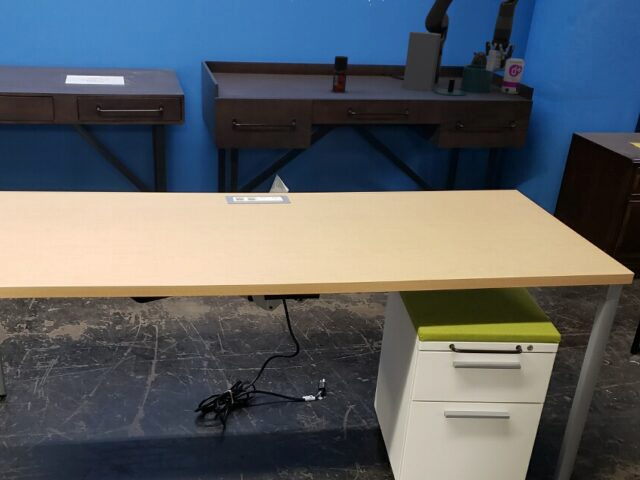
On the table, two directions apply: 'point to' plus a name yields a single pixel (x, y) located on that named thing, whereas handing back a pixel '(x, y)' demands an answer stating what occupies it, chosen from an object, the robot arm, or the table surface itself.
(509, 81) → the supplement can
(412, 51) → the cassette tape recorder
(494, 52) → the medicine box
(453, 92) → the tin lid
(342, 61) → the deodorant
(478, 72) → the tin
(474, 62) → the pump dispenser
